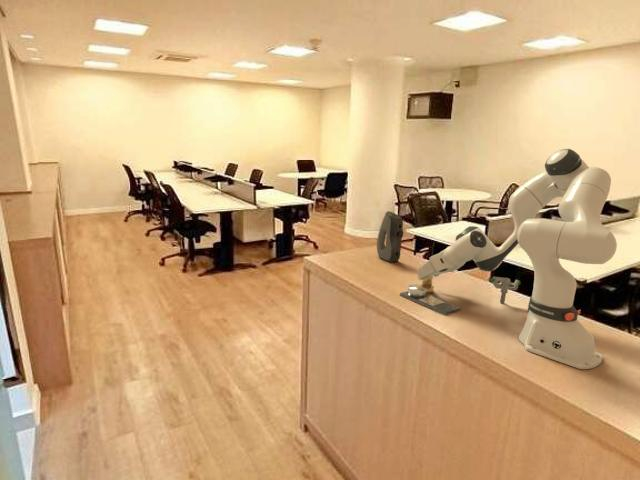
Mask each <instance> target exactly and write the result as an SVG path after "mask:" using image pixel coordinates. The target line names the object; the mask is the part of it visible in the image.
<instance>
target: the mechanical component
mask: <svg viewBox="0 0 640 480" xmlns="http://www.w3.org/2000/svg"><path fill="white" fill-rule="evenodd" d="M490 282H491V283H492V284H493V287H494V288H495V289H497V290H498V289H500V291H499V292H500V293H501V294H500V298H499V300H500V301H499V302H500V304H502V305H504V304H505V300H506V295H507V294H508V290H509V291H517V290H518V288H519V286H521V281H520V280H518V279H515V280H514V282H512V280H511V279H510V278H508V277H502V276H501V277H500V276H493V277H491V278H490Z"/></svg>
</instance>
